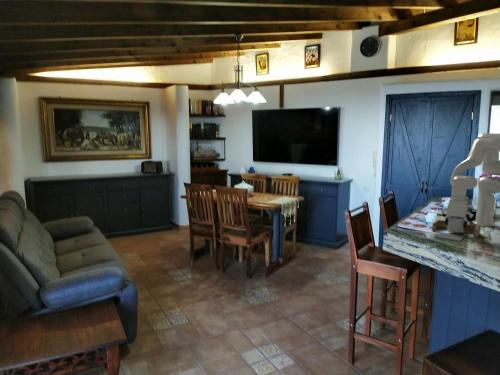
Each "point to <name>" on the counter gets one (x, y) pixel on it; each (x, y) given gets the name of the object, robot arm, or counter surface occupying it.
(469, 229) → the open side wooden frame
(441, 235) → the mat
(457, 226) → the medicine box
